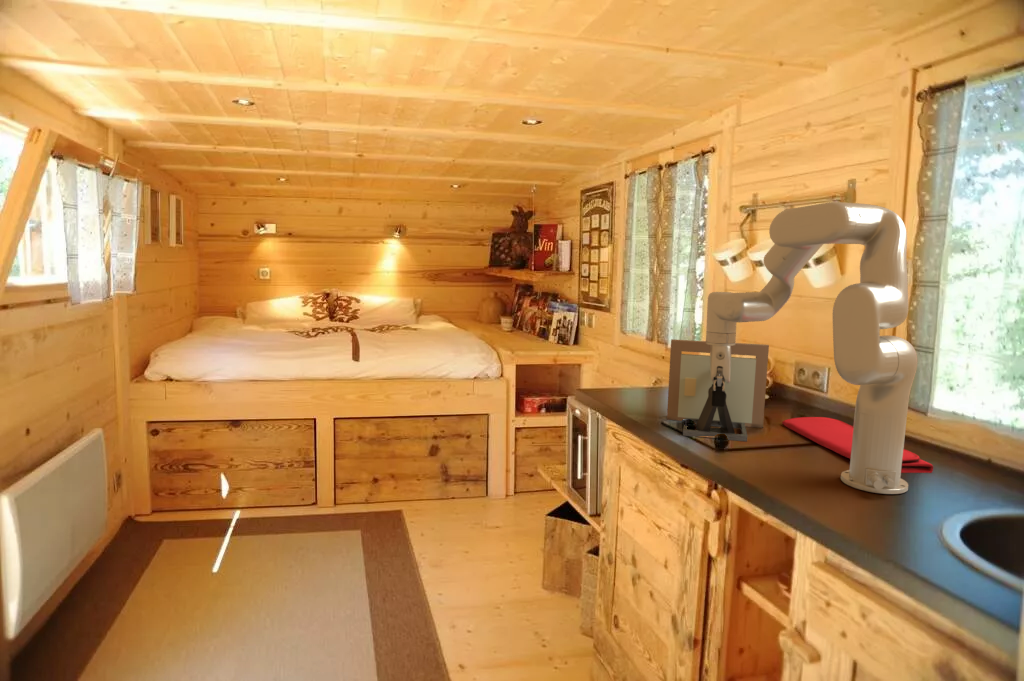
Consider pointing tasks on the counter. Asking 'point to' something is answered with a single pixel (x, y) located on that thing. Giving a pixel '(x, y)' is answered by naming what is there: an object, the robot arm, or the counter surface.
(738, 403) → the tan picture frame
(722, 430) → the phone stand
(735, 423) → the grey flat square frame
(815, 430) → the dish drying mat
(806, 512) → the counter surface
